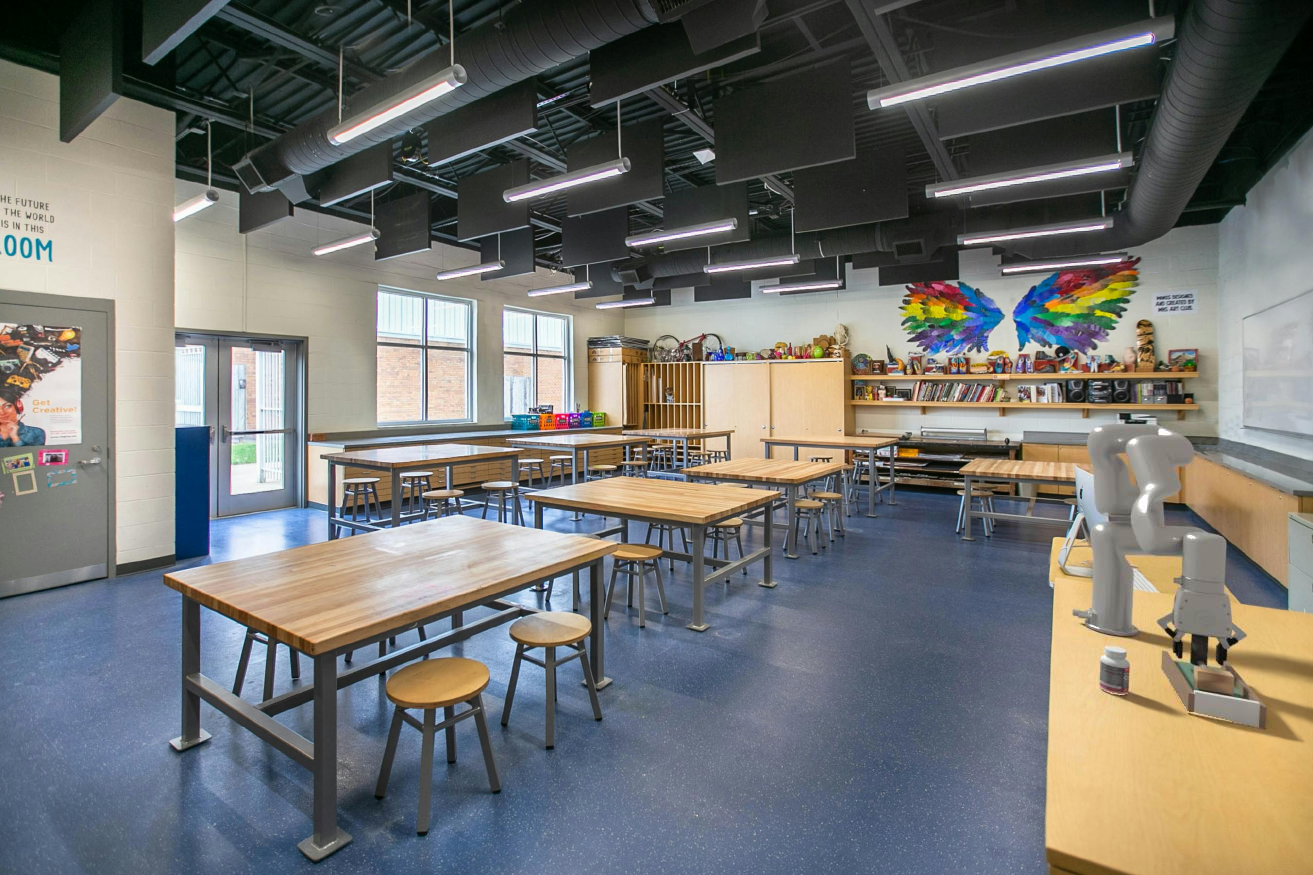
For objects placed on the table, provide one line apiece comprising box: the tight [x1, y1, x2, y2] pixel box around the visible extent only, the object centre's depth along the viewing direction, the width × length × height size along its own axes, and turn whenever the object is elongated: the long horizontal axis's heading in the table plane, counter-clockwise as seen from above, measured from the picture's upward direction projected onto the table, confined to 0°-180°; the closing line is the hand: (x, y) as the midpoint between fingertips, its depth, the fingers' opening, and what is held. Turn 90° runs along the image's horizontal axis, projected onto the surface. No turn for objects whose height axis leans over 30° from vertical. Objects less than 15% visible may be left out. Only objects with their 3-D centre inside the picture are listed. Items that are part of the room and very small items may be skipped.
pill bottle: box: [1098, 645, 1131, 694], centre depth 138 cm, size 5×5×10 cm
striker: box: [1189, 634, 1234, 695], centre depth 138 cm, size 6×15×8 cm, turn 150°
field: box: [1160, 650, 1268, 730], centre depth 136 cm, size 12×26×5 cm, turn 150°
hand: (1198, 659), depth 143 cm, fingers open, 6 cm apart
